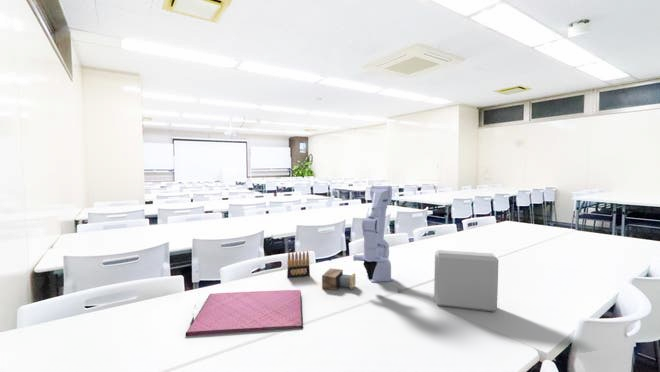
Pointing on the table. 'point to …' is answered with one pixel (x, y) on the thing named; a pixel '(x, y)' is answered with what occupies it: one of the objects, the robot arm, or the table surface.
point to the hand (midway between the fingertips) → (370, 278)
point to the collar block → (331, 279)
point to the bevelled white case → (466, 280)
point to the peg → (347, 280)
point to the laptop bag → (248, 312)
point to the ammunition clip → (298, 266)
